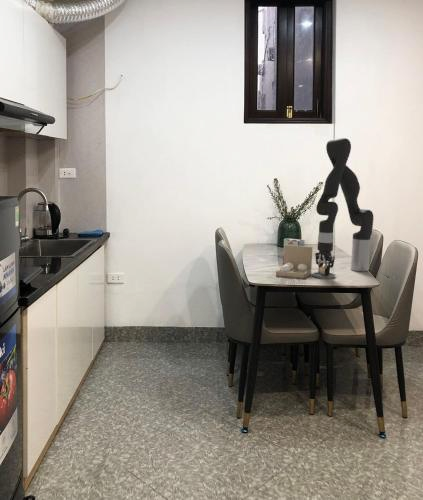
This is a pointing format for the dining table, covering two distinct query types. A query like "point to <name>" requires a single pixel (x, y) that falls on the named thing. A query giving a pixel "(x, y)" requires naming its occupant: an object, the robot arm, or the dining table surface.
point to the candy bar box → (292, 244)
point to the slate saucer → (323, 276)
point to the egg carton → (297, 261)
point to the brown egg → (322, 270)
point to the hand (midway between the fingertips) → (323, 274)
